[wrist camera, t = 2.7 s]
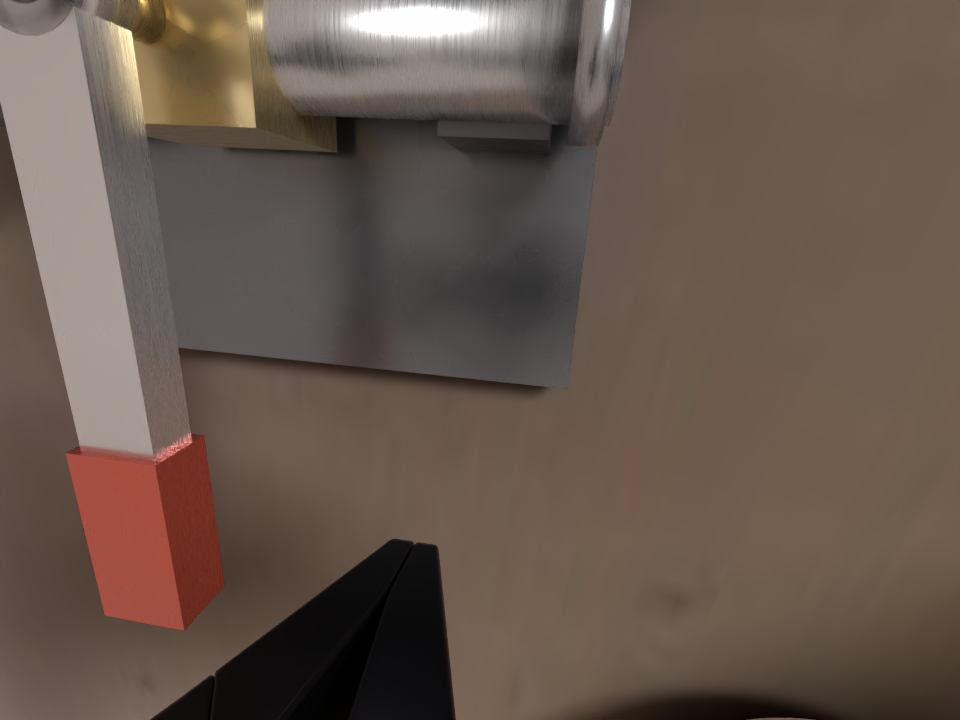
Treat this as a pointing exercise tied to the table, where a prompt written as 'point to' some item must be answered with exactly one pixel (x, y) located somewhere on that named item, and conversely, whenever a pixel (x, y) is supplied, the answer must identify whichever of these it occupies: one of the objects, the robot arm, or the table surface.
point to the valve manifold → (379, 176)
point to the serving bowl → (780, 719)
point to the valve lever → (110, 304)
